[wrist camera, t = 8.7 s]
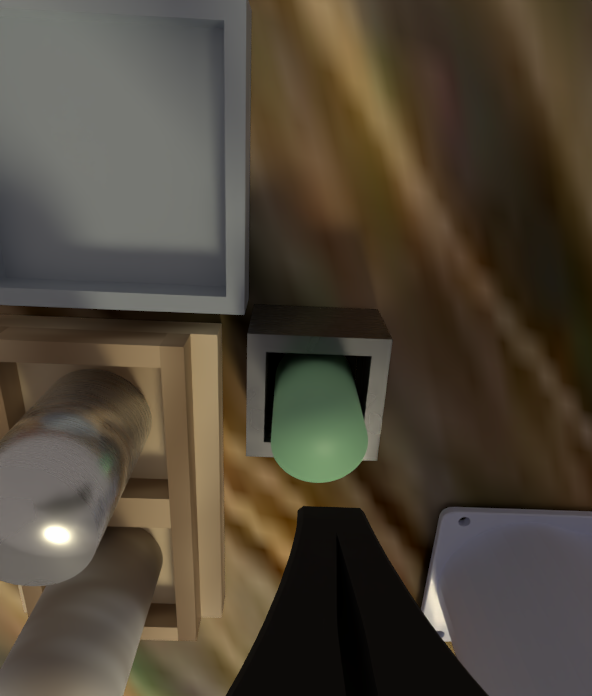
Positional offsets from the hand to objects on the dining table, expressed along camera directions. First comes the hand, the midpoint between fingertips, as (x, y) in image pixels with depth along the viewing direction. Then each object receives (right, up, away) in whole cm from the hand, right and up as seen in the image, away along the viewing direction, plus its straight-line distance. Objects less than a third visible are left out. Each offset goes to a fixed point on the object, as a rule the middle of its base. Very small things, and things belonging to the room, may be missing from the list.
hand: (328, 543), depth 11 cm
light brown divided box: (-8, -1, +11) cm, 14 cm away
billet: (-8, +2, +8) cm, 12 cm away
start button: (0, +3, +7) cm, 8 cm away
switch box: (0, +4, +9) cm, 9 cm away
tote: (-7, +10, +6) cm, 14 cm away
